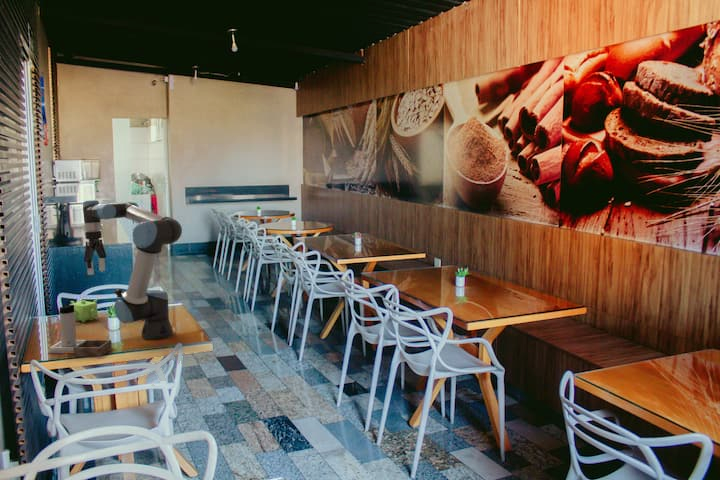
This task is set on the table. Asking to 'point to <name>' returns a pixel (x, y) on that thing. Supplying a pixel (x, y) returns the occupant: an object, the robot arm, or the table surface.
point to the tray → (59, 349)
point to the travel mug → (68, 326)
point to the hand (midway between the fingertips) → (96, 272)
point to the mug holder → (92, 348)
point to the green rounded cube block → (85, 310)
